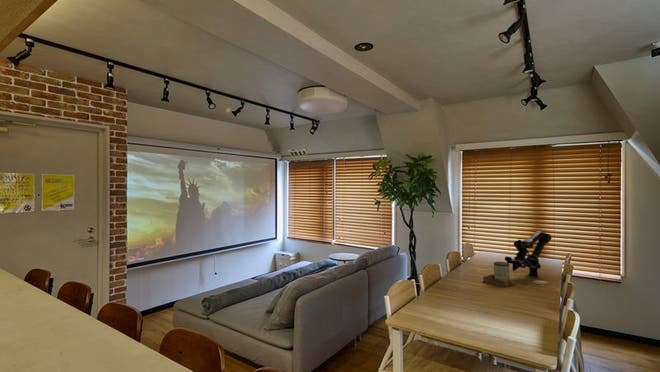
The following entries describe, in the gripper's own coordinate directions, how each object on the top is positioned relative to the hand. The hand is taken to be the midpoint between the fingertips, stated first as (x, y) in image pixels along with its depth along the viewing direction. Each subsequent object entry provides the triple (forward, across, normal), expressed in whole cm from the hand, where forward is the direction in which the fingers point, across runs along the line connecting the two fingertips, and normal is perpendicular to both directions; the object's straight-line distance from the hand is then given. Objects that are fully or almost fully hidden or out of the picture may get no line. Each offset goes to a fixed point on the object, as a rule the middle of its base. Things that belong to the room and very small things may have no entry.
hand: (513, 270), depth 243 cm
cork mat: (-1, -14, -11) cm, 18 cm away
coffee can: (+14, 0, +5) cm, 15 cm away
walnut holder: (+17, 0, +8) cm, 19 cm away
